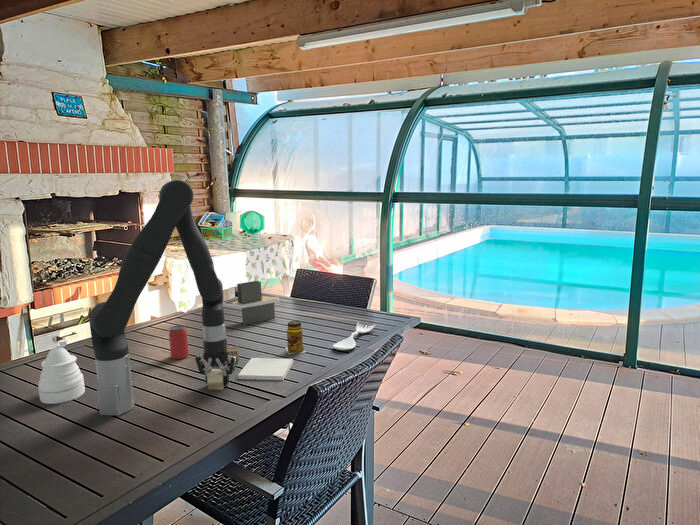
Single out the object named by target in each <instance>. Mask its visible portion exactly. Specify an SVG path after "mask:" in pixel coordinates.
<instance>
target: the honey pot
mask: <svg viewBox="0 0 700 525" xmlns="http://www.w3.org/2000/svg"><path fill="white" fill-rule="evenodd" d="M67 345H68V339H61V340H58V345H56V346H54V347H51V349H50V350H49V352H48V354H47V355H46V358H45V360H43V361H41V364H40V366H41V367H42V370H41V372H40V376H39V377H40V378H39V381H38V383H37V384H38V385H37V386H38V397H39V401H40V402H41V403H43V404H48V405H49V404H50V405H52V404H61V403H65V402H69V401H73V400H75V399H77V398H79V397H81V396H82V395H83V394H85V392H86V389H85V379H84V374H83V373H82V372H81V370H80V366H78V364H77V363H76V362H77V360H78V359H77V356H75V355H73V354H70V353H69V352H68V350H66V349H65V348H64V347H66V346H67Z"/></svg>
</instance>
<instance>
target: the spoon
mask: <svg viewBox="0 0 700 525" xmlns="http://www.w3.org/2000/svg"><path fill="white" fill-rule="evenodd" d="M374 328H376V324H374V325H373V324H372V325H367V324H366V325H365V324H362V323H360V322H357V324H356V327H355V331H353V332H351V333H350V335H349V337H347V338H345V339H343V340H340V341H338V342H336V343H334V344H332V348H333V349H335V350H338V351H349V350H352V349H354V348H355V347H356V346H357V342H356V341H355V339H354V337H355V336H358V335H359V334H366V333H369V332H370V331H372V330H373V329H374Z"/></svg>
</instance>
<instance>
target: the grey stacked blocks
mask: <svg viewBox="0 0 700 525" xmlns="http://www.w3.org/2000/svg"><path fill="white" fill-rule="evenodd" d="M236 286H237V287H236V288H237V301H234V302H232V306H233V307H234V308H237V309H241V317H242V326H246V325H251V324H252V325H253V324H254V323H255V324H256V323H260V322H265V321H270V320H273V319H276V316H275V315H276V312H275V311H276V310H275V303H278V302H280V297H279V296H262V294H263V293H262V282H261V281H259V280H253V281H248V282H246V281H245V282H241V283H237V284H236Z"/></svg>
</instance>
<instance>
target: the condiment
mask: <svg viewBox="0 0 700 525" xmlns="http://www.w3.org/2000/svg"><path fill="white" fill-rule="evenodd" d="M286 336H287V337H286V339H287V342H286V344H287V346H286V347H284V349H285V351H286V353H287V356H288V355H297V354H304V353H307V351H306V349H305V348H304V347H305V346H304V344H303V328H302V322H301V321H300V320H292V321H288V323H287V329H286Z"/></svg>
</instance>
